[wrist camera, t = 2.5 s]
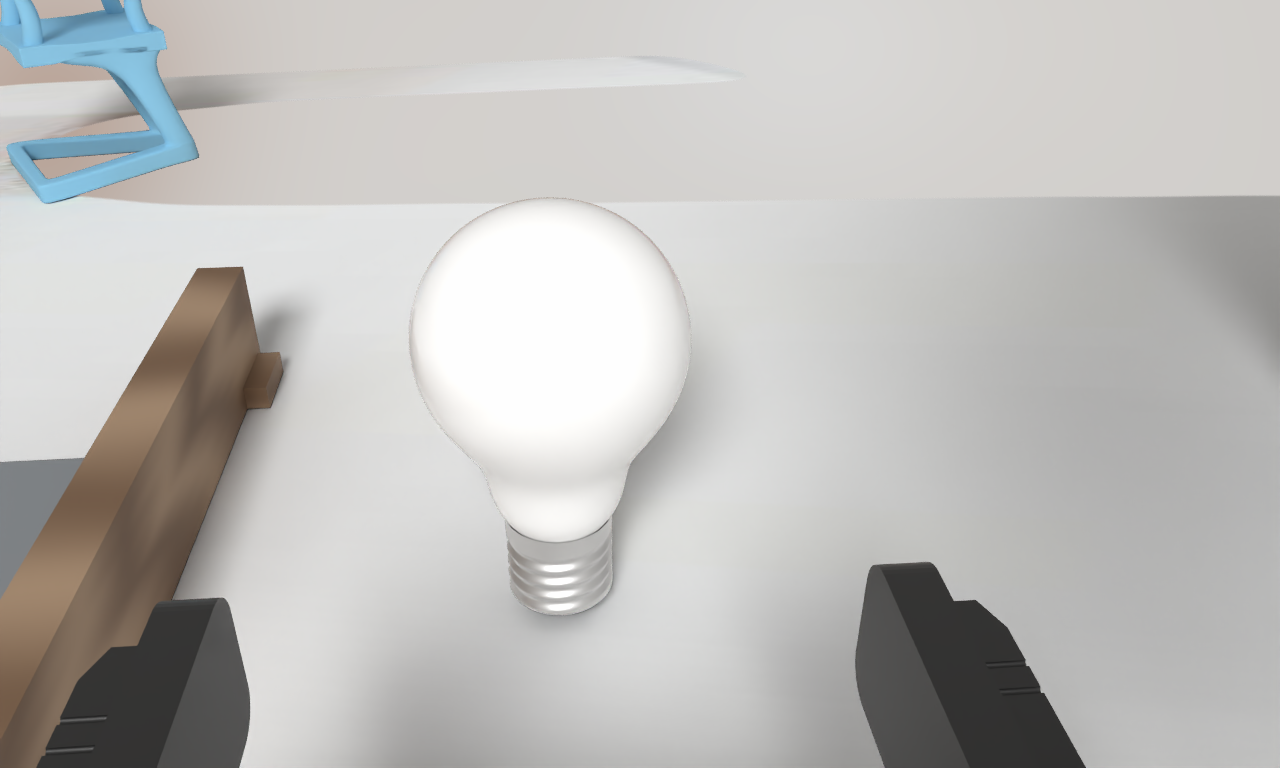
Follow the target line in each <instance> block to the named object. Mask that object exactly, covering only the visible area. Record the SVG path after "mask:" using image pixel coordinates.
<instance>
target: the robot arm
mask: <svg viewBox="0 0 1280 768" xmlns="http://www.w3.org/2000/svg"><path fill="white" fill-rule="evenodd" d="M855 667H856V679H857V686H858V691H859V696H860V700H861V703H862V706H863V708H864V711H865V714H866V717H867V719H868V722H869V725H870V728H871V730H872V733H873V736H874V739H875V742H876V744H877V747H878V750H879V753H880V755H881V758H882V761H883V764H884V766H885V768H1086V767H1085V765H1084V764H1083V762H1082V760H1081V758H1080V756H1079V755H1078V753H1077V751H1076V749H1075V747H1074V746H1073V744H1072V742H1071V740H1070V739H1069V737H1068V735H1067V733H1066V731H1065V730H1064V728H1063V726H1062V724H1061V722H1060V721H1059V719H1058V717H1057V715H1056V714H1055V712H1054V710H1053V708H1052V706H1051V705H1050V703H1049V701H1048V699H1047V697H1046V696H1045V694H1044V693H1041V691H1040V685H1039V683H1038V681H1037V680H1036V678H1035V676H1034V674H1033V672H1032V671H1031V669H1030V667H1029V666H1026V664H1025V658H1024V656H1023V655H1022V653H1021V651H1020V649H1019V647H1018V646H1017V644H1016V642H1015V640H1014V639H1013V637H1012V635H1011V633H1010V631H1009V630H1008V628H1007V627H1006V626H1005V625H1004V624H1003V623H1002V622H1000V621H999V620H998V619H997V618H996V617H995V616H993V615H992V614H991V613H990V612H989V611H988V610H987V609H985V608H984V607H983V606H982V605H981V604H980V603H978V602H977V601H976V600H968V601H953V599H952V597H951V595H950V593H949V591H948V589H947V587H946V585H945V583H944V581H943V579H942V578H941V576H940V574H939V572H938V570H937V568H936V567H935V566H934V565H933V564H932V563H930V562H920V563H901V564H883V565H873V566H872V567H871V569H870V570H869V573H868V578H867V584H866V590H865V597H864V603H863V609H862V616H861V622H860V629H859V635H858V642H857V648H856V659H855ZM249 721H250V695H249V688H248V683H247V679H246V674H245V670H244V666H243V662H242V657H241V653H240V649H239V644H238V640H237V636H236V632H235V627H234V623H233V619H232V614H231V611H230V607H229V605H228V602H227V601H226V600H225V599H224V598H209V599H190V600H171V601H160V602H158V603H157V604H156V605H155V607H154V608H153V610H152V612H151V615H150V617H149V619H148V622H147V624H146V626H145V629H144V631H143V633H142V636H141V638H140V640H139V643H138V645H137V646H124V647H111V648H110V649H109V650H108V651H107V652H106V653H105V654H104V655H103V656H102V657H101V658H100V659H99V660H98V661H97V662H96V663H95V664H94V665H93V666H92V667H91V668H90V669H89V670H88V671H87V672H86V673H85V674H84V675H83V676H82V677H81V678H80V679H79V680H78V681H77V683H76V685H75V687H74V689H73V691H72V693H71V695H70V697H69V700H68V702H67V704H66V706H65V708H64V710H63V712H62V714H61V716H60V724H59V725H56V727H55V729H54V731H53V733H52V735H51V737H50V740H49V742H48V744H47V746H46V748H45V749H46V753H45V756H41V759H40V761H39V763H38V765H37V767H36V768H239V766H240V763H241V759H242V755H243V752H244V748H245V745H246V741H247V736H248V730H249Z"/></svg>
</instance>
